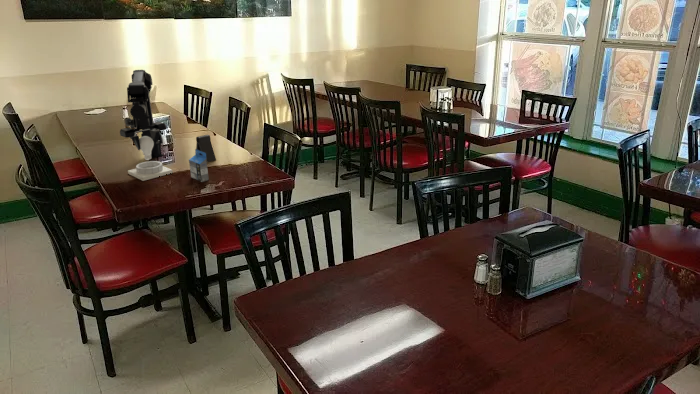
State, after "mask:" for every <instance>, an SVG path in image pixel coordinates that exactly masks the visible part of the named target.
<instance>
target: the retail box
mask: <svg viewBox="0 0 700 394" xmlns="http://www.w3.org/2000/svg"><path fill="white" fill-rule="evenodd" d="M194 150H195V154H194V155H193V156H192V157H190V158H189V159H188V163H189V164H188V165H189V170H190V178H191V179H194V180H196V181H199V182H200V183H204V182H205V183H206V182H209V171H208V162H207V160H206V153H204V152H202V151H199V150H196V148H195V149H194ZM199 153H201V154H202V155H203V156H202V155H200V154H199Z"/></svg>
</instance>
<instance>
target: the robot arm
mask: <svg viewBox="0 0 700 394" xmlns="http://www.w3.org/2000/svg"><path fill="white" fill-rule="evenodd" d="M127 85H128V86H127V87H126V93H127V103H129V104H130V103H131V105H132V106H131V108H130V111H129V112H130V116H132V119H131V118H124V123H125V124H124V125H125V126H126V127H124V128H120V130H119V136H120V137H123V138H125V139H126V138H130V139H131V140H132V142H133V143H134V145H135V147H136V149H137V150H138V151H141V149H140V143H139V139H140V138H141V137H143V136H148V137H150V138H151V139H152V140H153V142H154V146H153V148H152V151H151V159H154V158H160V157H162V156H163V157H164V154H162V148H161V145H162V144H164V141H163V136H162V131H166V130H167V125H166V123H164V122H162V121H155V122H154V117H153V111H152V104H151V98H150V97H151V96H150V92H151V90H152V87H153V78H152V75H151V74H150V73H149V72H146V70H145V69H135V70H133V71H132V74H131V82H130V83H128V84H127ZM139 133H141V137H139V135H137V134H139Z"/></svg>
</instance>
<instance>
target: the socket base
mask: <svg viewBox="0 0 700 394" xmlns="http://www.w3.org/2000/svg"><path fill="white" fill-rule="evenodd" d="M170 173H171V174H173V169H171V168H169V167H166V166H164V165H163V162H161V161H159V160H147V161H144V162H143V161H142V162H139V163H138V164H136V165H135V168H132V169H129V170H127V174H129V175H130V176H132V177H133V178H136V179H138V180H140V181H142V182H144V181H147V180H152V179H155V178H159V176H160V177H163V176H166V174H167V175H171V174H170Z"/></svg>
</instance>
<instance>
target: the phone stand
mask: <svg viewBox="0 0 700 394" xmlns="http://www.w3.org/2000/svg"><path fill="white" fill-rule="evenodd" d="M195 140H196V146H195V149H196V150H199V151H202V152H204V153H206V160H207V163H210V162H213V161H217V158H216V155H215V151H214V147H213V144H212V140H211V135H210V134H204V135H198V136H196V138H195ZM199 154H200V155H202V154H201V153H199ZM202 156H203V155H202Z"/></svg>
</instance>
